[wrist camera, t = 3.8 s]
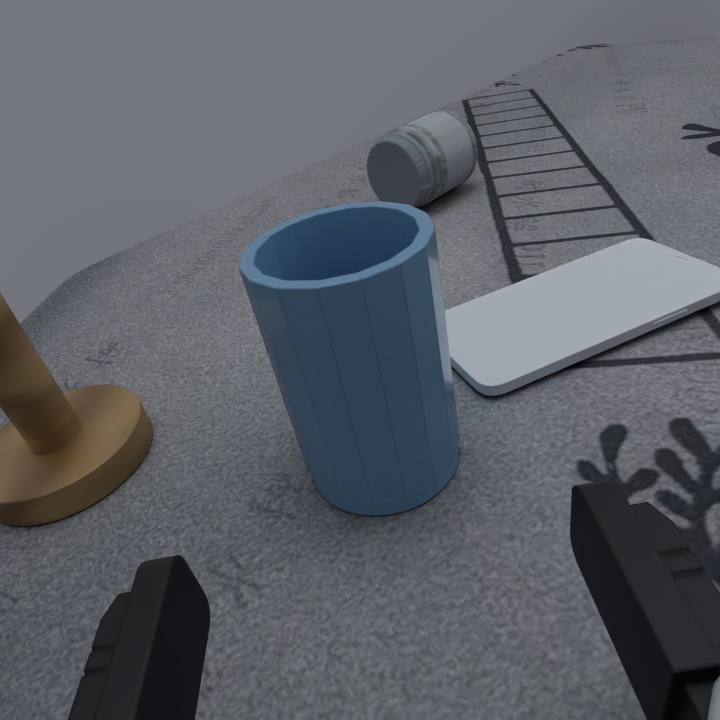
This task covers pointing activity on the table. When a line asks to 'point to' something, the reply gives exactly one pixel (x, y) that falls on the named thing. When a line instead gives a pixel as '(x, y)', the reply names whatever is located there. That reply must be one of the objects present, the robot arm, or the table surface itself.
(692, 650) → the robot arm
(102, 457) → the stand
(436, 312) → the mug
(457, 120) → the camera lens
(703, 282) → the smartphone
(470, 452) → the table surface
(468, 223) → the table surface
